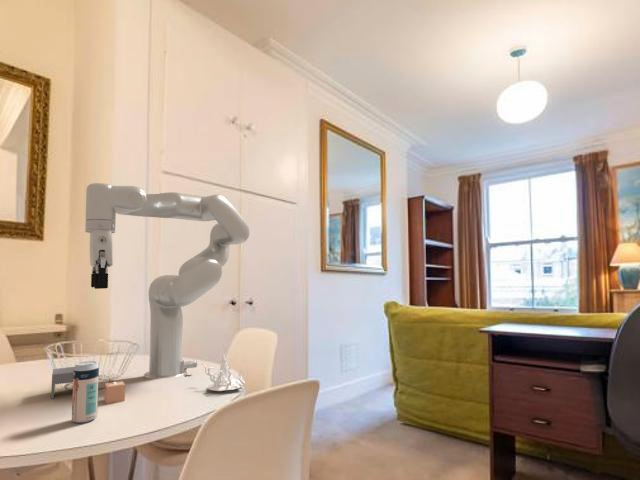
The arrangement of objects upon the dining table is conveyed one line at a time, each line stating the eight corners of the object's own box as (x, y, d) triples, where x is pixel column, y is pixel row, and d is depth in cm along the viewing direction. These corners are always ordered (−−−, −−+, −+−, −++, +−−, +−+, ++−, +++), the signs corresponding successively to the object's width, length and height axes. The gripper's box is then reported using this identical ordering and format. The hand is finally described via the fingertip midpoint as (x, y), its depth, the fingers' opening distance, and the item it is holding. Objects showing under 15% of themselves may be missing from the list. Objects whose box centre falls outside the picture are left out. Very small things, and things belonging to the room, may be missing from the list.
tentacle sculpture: (245, 389, 110) (245, 354, 110) (199, 392, 107) (200, 356, 108) (244, 380, 118) (245, 348, 119) (202, 383, 116) (202, 350, 116)
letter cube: (122, 397, 103) (122, 380, 104) (124, 401, 100) (125, 383, 100) (104, 399, 101) (105, 382, 101) (106, 404, 98) (107, 386, 98)
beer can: (78, 416, 89) (80, 361, 90) (101, 415, 90) (102, 360, 91) (66, 424, 85) (69, 366, 85) (90, 423, 85) (92, 365, 86)
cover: (82, 387, 111) (83, 365, 112) (83, 394, 105) (84, 371, 106) (52, 392, 108) (53, 369, 108) (51, 399, 102) (52, 374, 102)
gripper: (119, 225, 110) (118, 288, 109) (111, 230, 124) (110, 286, 123) (88, 223, 106) (86, 289, 105) (83, 229, 120) (81, 287, 119)
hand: (99, 287), depth 114 cm, fingers open, 9 cm apart
